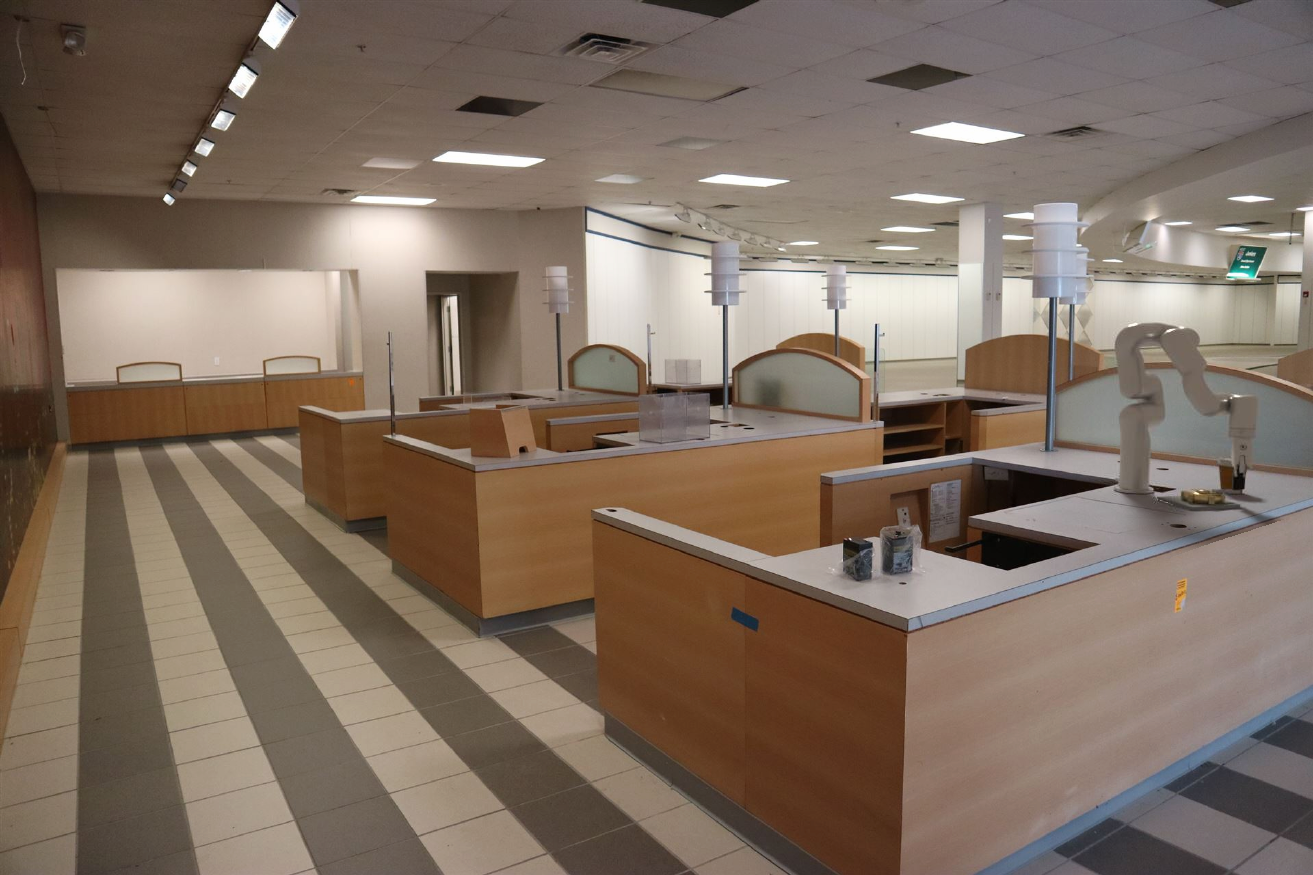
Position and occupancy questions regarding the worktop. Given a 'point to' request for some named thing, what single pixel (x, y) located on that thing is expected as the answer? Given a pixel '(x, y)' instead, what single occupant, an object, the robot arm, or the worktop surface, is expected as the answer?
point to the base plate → (1197, 504)
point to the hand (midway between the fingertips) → (1238, 488)
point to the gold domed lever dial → (1207, 495)
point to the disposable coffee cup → (1227, 473)
